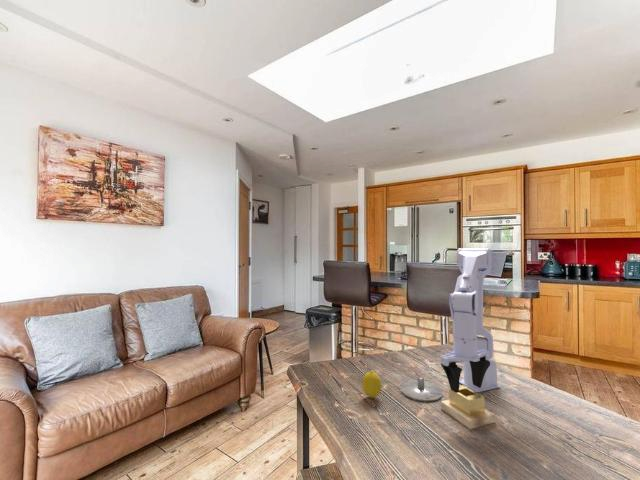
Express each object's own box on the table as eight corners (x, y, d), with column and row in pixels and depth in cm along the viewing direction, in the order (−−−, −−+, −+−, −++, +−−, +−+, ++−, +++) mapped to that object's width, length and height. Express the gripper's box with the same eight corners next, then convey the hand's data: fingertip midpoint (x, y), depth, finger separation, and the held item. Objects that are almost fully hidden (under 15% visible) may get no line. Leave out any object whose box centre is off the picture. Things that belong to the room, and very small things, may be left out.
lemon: (381, 403, 87) (380, 375, 87) (362, 402, 88) (361, 374, 88) (381, 394, 92) (380, 368, 93) (363, 393, 94) (362, 366, 94)
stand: (463, 403, 86) (463, 390, 87) (494, 422, 77) (494, 408, 77) (441, 408, 84) (440, 395, 84) (469, 429, 74) (469, 414, 74)
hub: (424, 380, 101) (424, 368, 101) (450, 397, 90) (450, 383, 90) (393, 386, 97) (393, 374, 97) (417, 404, 86) (416, 390, 86)
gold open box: (463, 399, 85) (463, 385, 85) (484, 412, 78) (484, 396, 78) (449, 402, 83) (449, 388, 83) (469, 416, 76) (469, 400, 76)
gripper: (454, 344, 75) (455, 400, 74) (498, 338, 79) (499, 390, 79) (434, 337, 81) (435, 388, 81) (476, 331, 86) (477, 379, 86)
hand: (466, 388), depth 80 cm, fingers open, 7 cm apart
